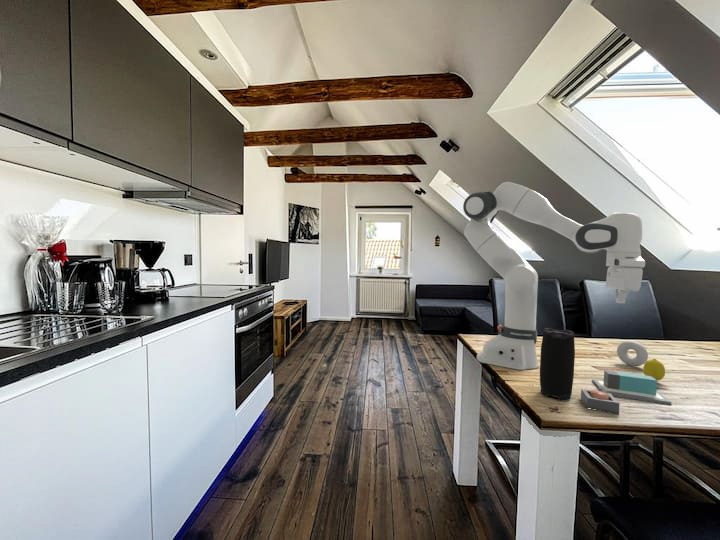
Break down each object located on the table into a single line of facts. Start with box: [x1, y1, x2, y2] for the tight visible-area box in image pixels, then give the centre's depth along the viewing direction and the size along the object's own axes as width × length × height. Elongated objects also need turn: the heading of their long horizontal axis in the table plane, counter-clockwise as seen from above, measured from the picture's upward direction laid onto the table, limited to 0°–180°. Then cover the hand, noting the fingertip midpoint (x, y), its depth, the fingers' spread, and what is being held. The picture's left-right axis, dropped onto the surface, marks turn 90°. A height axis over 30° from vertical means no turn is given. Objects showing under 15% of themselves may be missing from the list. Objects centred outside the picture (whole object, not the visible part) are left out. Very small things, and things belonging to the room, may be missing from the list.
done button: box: [591, 389, 609, 400], centre depth 89 cm, size 4×4×3 cm
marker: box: [603, 369, 658, 395], centre depth 100 cm, size 12×4×4 cm, turn 68°
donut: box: [616, 340, 649, 367], centre depth 128 cm, size 10×4×10 cm, turn 28°
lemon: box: [642, 358, 666, 381], centre depth 110 cm, size 6×6×8 cm
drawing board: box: [591, 378, 673, 406], centre depth 100 cm, size 16×12×1 cm
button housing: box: [580, 388, 621, 415], centre depth 89 cm, size 7×7×3 cm
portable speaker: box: [539, 327, 576, 401], centre depth 95 cm, size 9×9×20 cm
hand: (620, 303), depth 107 cm, fingers closed
